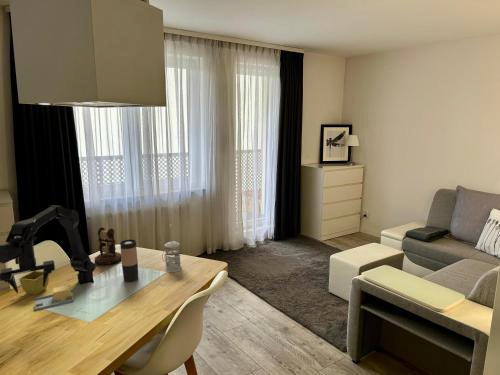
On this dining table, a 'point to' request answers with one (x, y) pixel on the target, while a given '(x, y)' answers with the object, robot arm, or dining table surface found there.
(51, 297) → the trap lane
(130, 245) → the travel mug
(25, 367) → the dining table surface
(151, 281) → the dining table surface
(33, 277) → the flower pot
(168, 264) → the french press
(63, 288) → the ochre block
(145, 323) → the dining table surface
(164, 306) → the dining table surface
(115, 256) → the brown sculpture
